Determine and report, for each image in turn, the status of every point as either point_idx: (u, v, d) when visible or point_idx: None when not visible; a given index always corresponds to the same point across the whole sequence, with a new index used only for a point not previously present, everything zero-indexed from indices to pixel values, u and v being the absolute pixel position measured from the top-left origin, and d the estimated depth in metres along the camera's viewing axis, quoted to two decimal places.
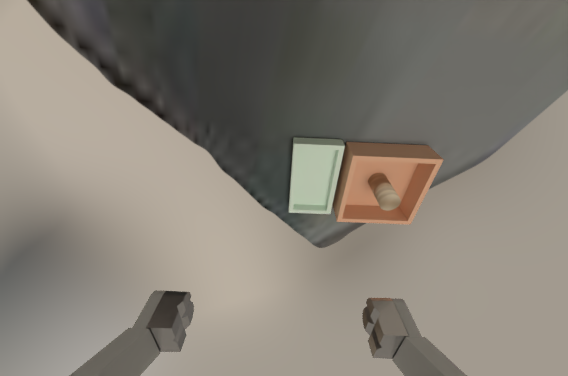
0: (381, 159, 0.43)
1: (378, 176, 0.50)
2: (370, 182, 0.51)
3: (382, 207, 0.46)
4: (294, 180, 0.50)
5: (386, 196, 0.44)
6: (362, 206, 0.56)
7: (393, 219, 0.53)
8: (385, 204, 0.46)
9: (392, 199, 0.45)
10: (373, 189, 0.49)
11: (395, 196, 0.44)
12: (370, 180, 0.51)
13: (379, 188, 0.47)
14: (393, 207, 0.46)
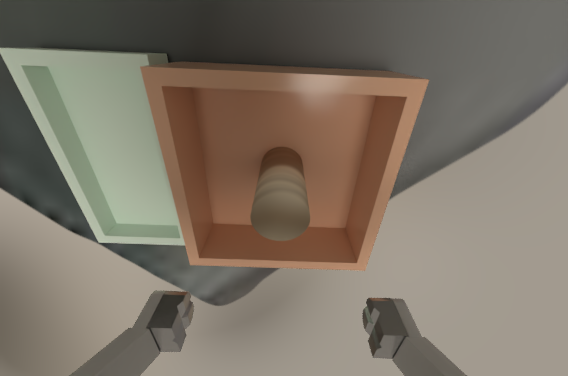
0: (234, 80, 0.14)
1: (274, 153, 0.20)
2: None
3: (263, 232, 0.16)
4: (66, 164, 0.20)
5: (261, 199, 0.15)
6: None
7: (323, 259, 0.22)
8: (268, 223, 0.16)
9: (283, 209, 0.15)
10: None
11: (289, 198, 0.14)
12: None
13: (260, 180, 0.17)
14: (295, 232, 0.16)
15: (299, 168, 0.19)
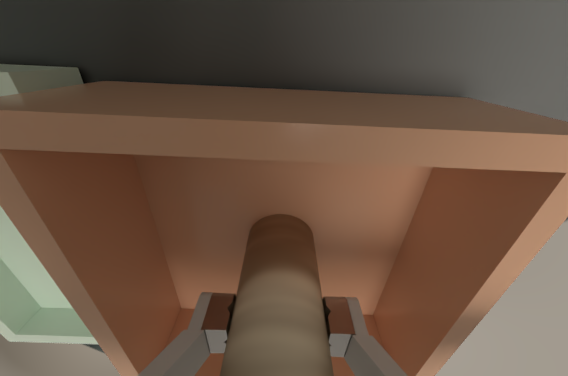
0: (167, 139, 0.06)
1: (268, 231, 0.12)
2: None
3: None
4: None
5: None
6: None
7: None
8: None
9: None
10: None
11: None
12: None
13: (240, 303, 0.09)
14: None
15: (311, 265, 0.11)
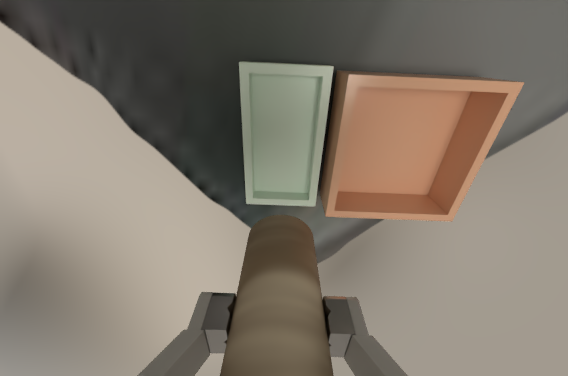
0: (404, 83, 0.22)
1: (268, 232, 0.12)
2: None
3: None
4: (248, 141, 0.28)
5: None
6: (367, 194, 0.34)
7: (422, 212, 0.30)
8: None
9: None
10: None
11: None
12: None
13: (240, 304, 0.09)
14: None
15: (310, 266, 0.11)
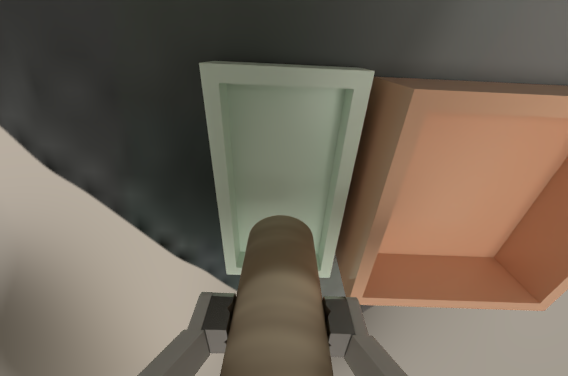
0: (522, 106, 0.11)
1: (268, 232, 0.12)
2: None
3: None
4: (225, 192, 0.17)
5: None
6: (407, 257, 0.23)
7: (499, 298, 0.20)
8: None
9: None
10: None
11: None
12: None
13: (240, 305, 0.09)
14: None
15: (310, 267, 0.11)
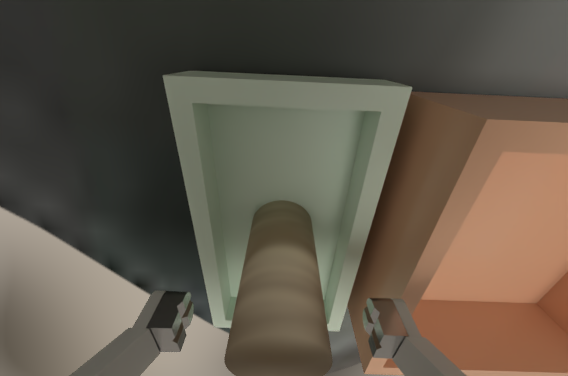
0: None
1: (271, 214, 0.13)
2: None
3: None
4: (208, 239, 0.13)
5: (243, 341, 0.08)
6: (433, 305, 0.19)
7: (555, 366, 0.15)
8: (257, 368, 0.09)
9: (284, 353, 0.08)
10: None
11: (296, 340, 0.08)
12: None
13: (246, 273, 0.10)
14: None
15: (309, 243, 0.12)
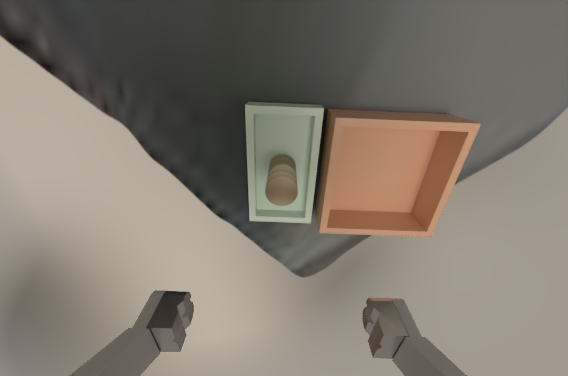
0: (381, 124, 0.27)
1: (278, 158, 0.33)
2: None
3: (272, 200, 0.29)
4: (252, 168, 0.33)
5: (271, 180, 0.27)
6: (357, 212, 0.38)
7: (405, 229, 0.35)
8: (275, 195, 0.28)
9: (283, 186, 0.28)
10: None
11: (286, 180, 0.27)
12: (269, 165, 0.34)
13: (270, 172, 0.30)
14: (289, 200, 0.29)
15: (292, 166, 0.32)
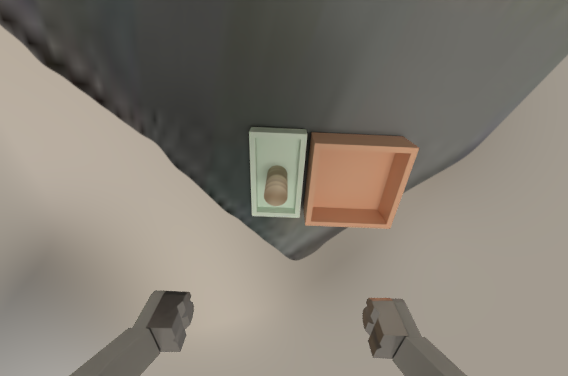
0: (347, 148, 0.37)
1: (273, 168, 0.43)
2: None
3: (269, 202, 0.39)
4: (254, 176, 0.44)
5: (268, 188, 0.38)
6: (336, 209, 0.49)
7: (370, 222, 0.46)
8: (271, 198, 0.39)
9: (277, 192, 0.38)
10: None
11: (279, 187, 0.38)
12: (267, 174, 0.45)
13: (267, 181, 0.41)
14: (281, 202, 0.39)
15: (284, 176, 0.42)
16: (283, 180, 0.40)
